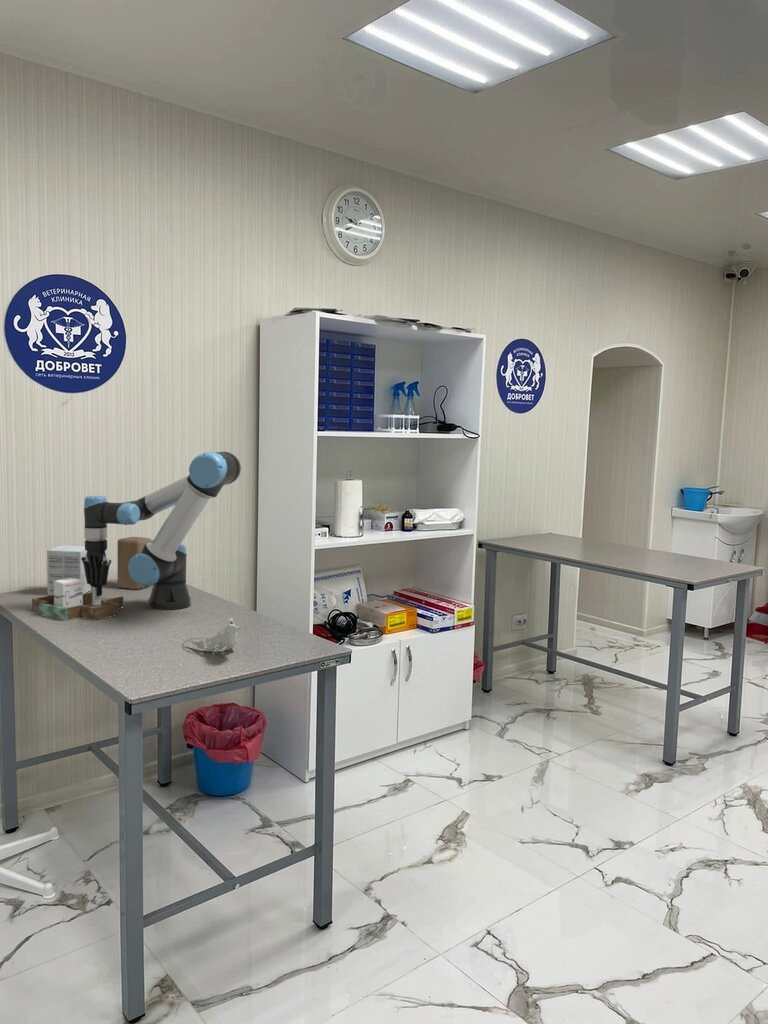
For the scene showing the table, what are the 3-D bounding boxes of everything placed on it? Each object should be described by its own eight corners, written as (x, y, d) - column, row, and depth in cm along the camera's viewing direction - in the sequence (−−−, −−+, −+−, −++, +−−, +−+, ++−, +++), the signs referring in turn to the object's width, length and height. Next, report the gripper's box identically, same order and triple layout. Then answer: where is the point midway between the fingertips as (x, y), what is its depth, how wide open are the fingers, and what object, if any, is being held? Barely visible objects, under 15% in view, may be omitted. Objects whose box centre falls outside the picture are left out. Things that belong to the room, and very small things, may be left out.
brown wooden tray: (136, 610, 281) (136, 599, 280) (79, 624, 260) (79, 612, 259) (84, 599, 295) (84, 589, 294) (25, 611, 274) (25, 600, 273)
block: (116, 588, 316) (116, 539, 314) (131, 583, 326) (131, 536, 324) (138, 590, 313) (138, 541, 311) (152, 586, 323) (152, 537, 321)
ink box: (62, 616, 268) (62, 582, 267) (53, 614, 271) (52, 581, 270) (83, 612, 276) (83, 579, 275) (74, 610, 278) (73, 577, 277)
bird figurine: (231, 638, 249) (255, 597, 232) (237, 665, 245) (262, 625, 227) (181, 643, 241) (202, 601, 224) (187, 670, 236) (208, 630, 219)
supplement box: (61, 588, 313) (60, 544, 311) (94, 589, 313) (93, 546, 311) (46, 595, 300) (46, 550, 298) (81, 596, 300) (80, 551, 298)
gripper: (117, 539, 280) (117, 604, 282) (92, 536, 286) (93, 600, 289) (100, 542, 273) (101, 608, 276) (74, 538, 280) (76, 603, 282)
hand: (96, 604), depth 282 cm, fingers closed
